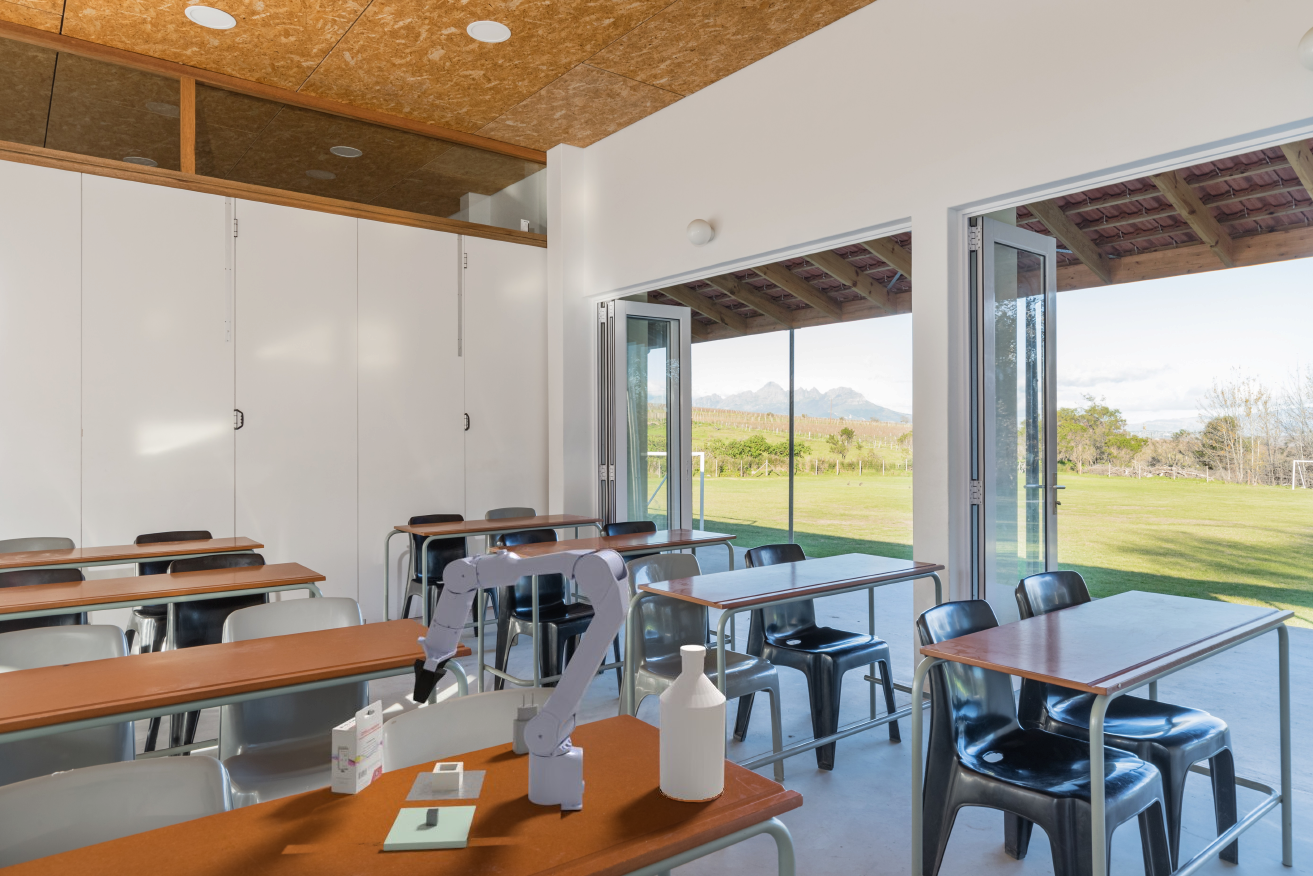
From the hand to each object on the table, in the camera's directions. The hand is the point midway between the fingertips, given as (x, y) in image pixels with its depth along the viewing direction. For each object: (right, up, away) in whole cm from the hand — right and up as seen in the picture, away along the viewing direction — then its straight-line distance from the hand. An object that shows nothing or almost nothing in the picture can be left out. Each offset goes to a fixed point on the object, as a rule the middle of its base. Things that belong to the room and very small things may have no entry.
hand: (423, 692), depth 139 cm
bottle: (+48, -17, -1) cm, 51 cm away
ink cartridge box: (-11, -17, -2) cm, 20 cm away
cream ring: (+5, -15, -2) cm, 16 cm away
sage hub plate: (+7, -16, -17) cm, 24 cm away
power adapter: (+16, -17, +15) cm, 28 cm away
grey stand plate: (+5, -16, -2) cm, 17 cm away
